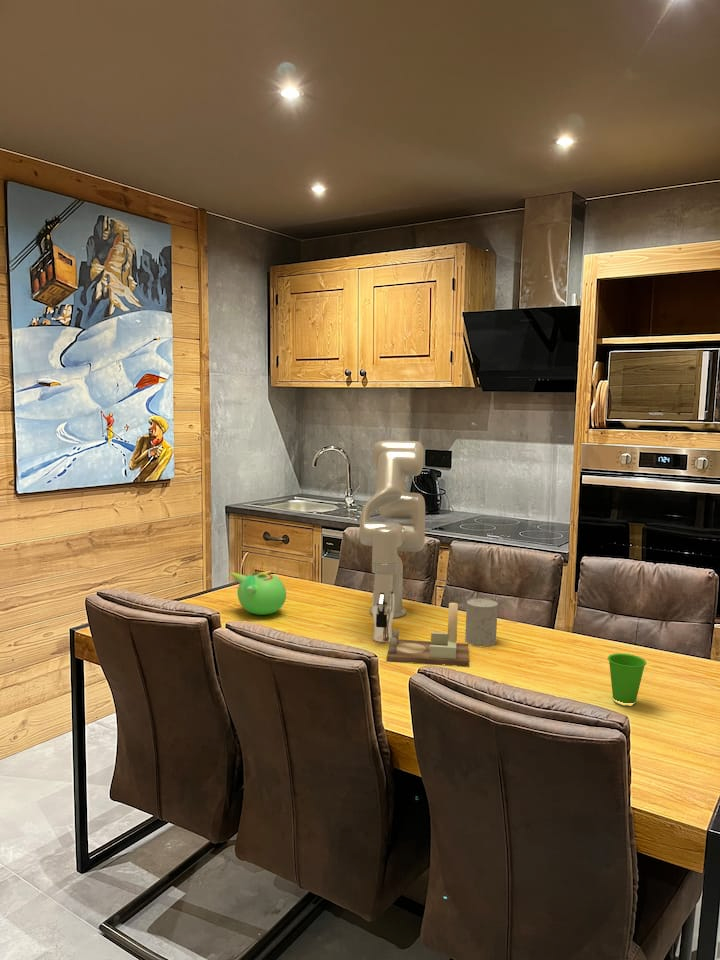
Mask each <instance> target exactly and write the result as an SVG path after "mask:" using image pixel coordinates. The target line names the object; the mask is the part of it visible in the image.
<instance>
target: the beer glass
mask: <svg viewBox="0 0 720 960" xmlns="http://www.w3.org/2000/svg"><path fill="white" fill-rule="evenodd" d="M373 598H374V590H373V592H372V599H371V600H372V601H371V606H372V613H373V615H372V618H373V626H374V627H373V636H372V641H374V640H375V641H374V642H376V641H378V642H377V643H381V642H386V643H390V638H392V625H393V620H394V618H393V616H394V610H395V597H394V591H392V594H391V597H390V603H389V606H388V607H387V610H386V614H387V627H386V628H383V627H376V614H377V606H378V603H377V605H375V606H374V605H373ZM384 598H385V595H384ZM383 604H386V603H383ZM384 608H385V607H384Z"/></svg>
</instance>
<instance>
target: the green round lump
mask: <svg viewBox="0 0 720 960" xmlns="http://www.w3.org/2000/svg"><path fill="white" fill-rule="evenodd" d="M271 572H272V570H267V571H262V572H255V573H252V574H250V575H244V574H241V573H237V572H230V573H229V574H230V576H231V577H232V578H234V579H235V580H237V582H239V585H238V587H237V593H236V594H237V599H238V601H239V604H240V605H241V606H242V608H243V609H244V610H246V611H247V612H248V613H251V614H253V615H256V616H267V615H271V614H273V613H275V612H277V611H279V610H280V609H281V608H282V607H283V605H284V604H285V603H286V599H287V591H286V586H285V584H284V582H282V580H281V579H280V578H279V577H278V576H276V575H274V574H272V573H271Z"/></svg>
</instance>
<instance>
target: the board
mask: <svg viewBox="0 0 720 960" xmlns="http://www.w3.org/2000/svg"><path fill="white" fill-rule="evenodd" d="M391 631H392V638H390V642H389V647H388V649H387V653H386V654H387V655H386V662H390V663H391V662H394V663H406V662H413V663H412V664H421V663H425V664H426V665H440V666H443V665H442V664H445V665H444V666H451V667H453V666H452V665H457V666H456V667H466V666H470V665H469V664H470V663H469V662H470V658H469V644H468V643H462V642H461V643H460V642H456V659H448V658H432V657H429V654H430V645H442V644H431V640H430V641H429V640H416V639H415V640H414V639H413V640H411V639H400V629H399V628H393V629H391ZM443 646H448V645H443Z"/></svg>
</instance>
